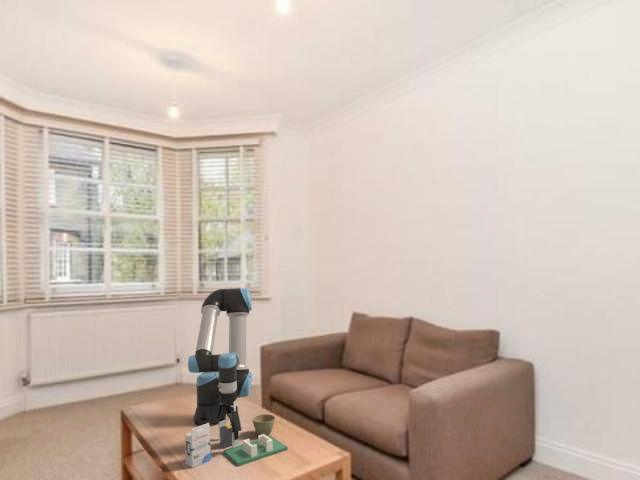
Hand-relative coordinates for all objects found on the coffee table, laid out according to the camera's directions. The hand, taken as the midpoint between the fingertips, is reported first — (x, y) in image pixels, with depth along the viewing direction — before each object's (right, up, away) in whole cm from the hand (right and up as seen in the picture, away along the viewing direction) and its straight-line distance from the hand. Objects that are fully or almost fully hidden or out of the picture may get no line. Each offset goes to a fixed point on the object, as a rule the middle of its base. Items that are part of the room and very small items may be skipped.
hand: (228, 441), depth 183 cm
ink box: (-9, -1, -15) cm, 17 cm away
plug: (0, -1, 0) cm, 1 cm away
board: (+13, -1, -7) cm, 14 cm away
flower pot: (+14, -2, +10) cm, 17 cm away
